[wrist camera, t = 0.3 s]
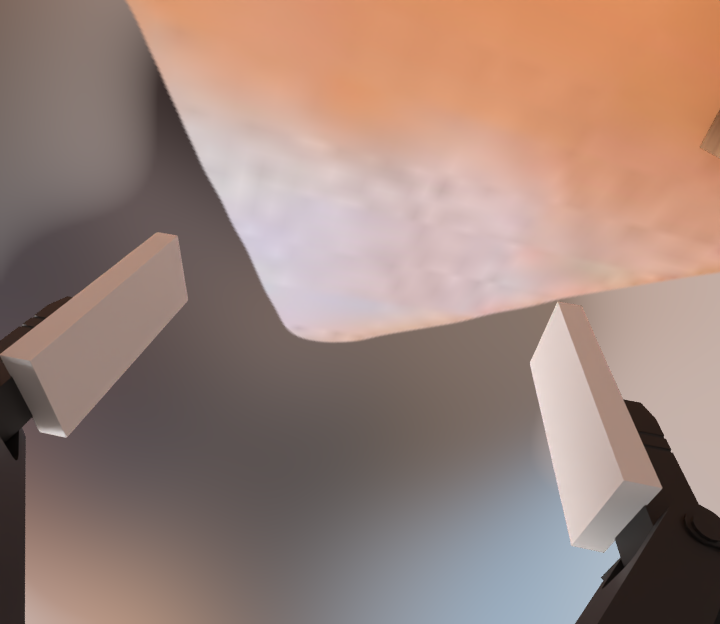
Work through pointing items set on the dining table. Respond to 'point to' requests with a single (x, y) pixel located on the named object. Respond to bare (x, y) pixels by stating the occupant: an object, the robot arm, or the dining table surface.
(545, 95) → the dining table surface
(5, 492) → the robot arm
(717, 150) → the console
